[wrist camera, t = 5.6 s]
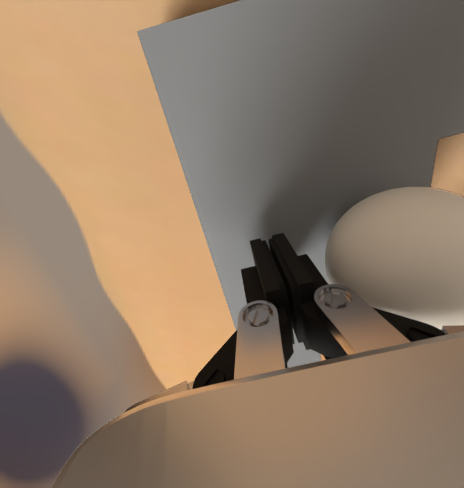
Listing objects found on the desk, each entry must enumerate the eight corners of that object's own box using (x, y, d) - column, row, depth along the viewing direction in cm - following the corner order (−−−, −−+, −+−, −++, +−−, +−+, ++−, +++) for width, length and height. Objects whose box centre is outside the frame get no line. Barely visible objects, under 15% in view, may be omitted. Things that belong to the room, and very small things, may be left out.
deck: (155, 53, 11) (137, 31, 8) (614, -82, 10) (763, -157, 7) (246, 342, 20) (251, 376, 17) (487, 288, 19) (532, 315, 16)
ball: (293, 196, 11) (418, 259, 5) (407, 159, 11) (619, 182, 6) (305, 296, 13) (395, 402, 8) (396, 262, 14) (534, 339, 9)
